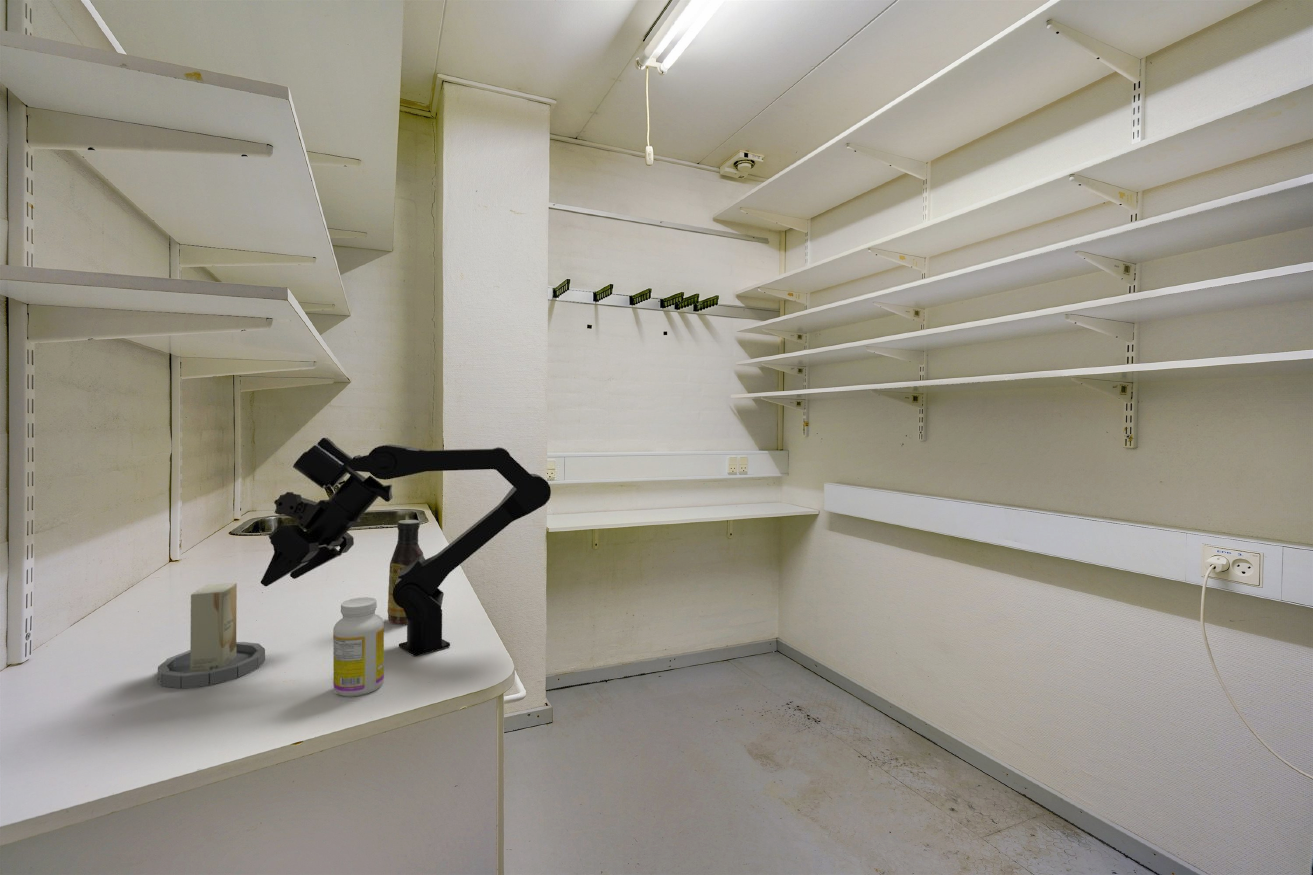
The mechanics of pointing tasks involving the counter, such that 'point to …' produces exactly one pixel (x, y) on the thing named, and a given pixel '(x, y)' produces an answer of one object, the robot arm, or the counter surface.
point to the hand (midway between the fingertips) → (278, 580)
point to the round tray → (179, 675)
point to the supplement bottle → (358, 648)
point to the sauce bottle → (402, 564)
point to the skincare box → (213, 627)
